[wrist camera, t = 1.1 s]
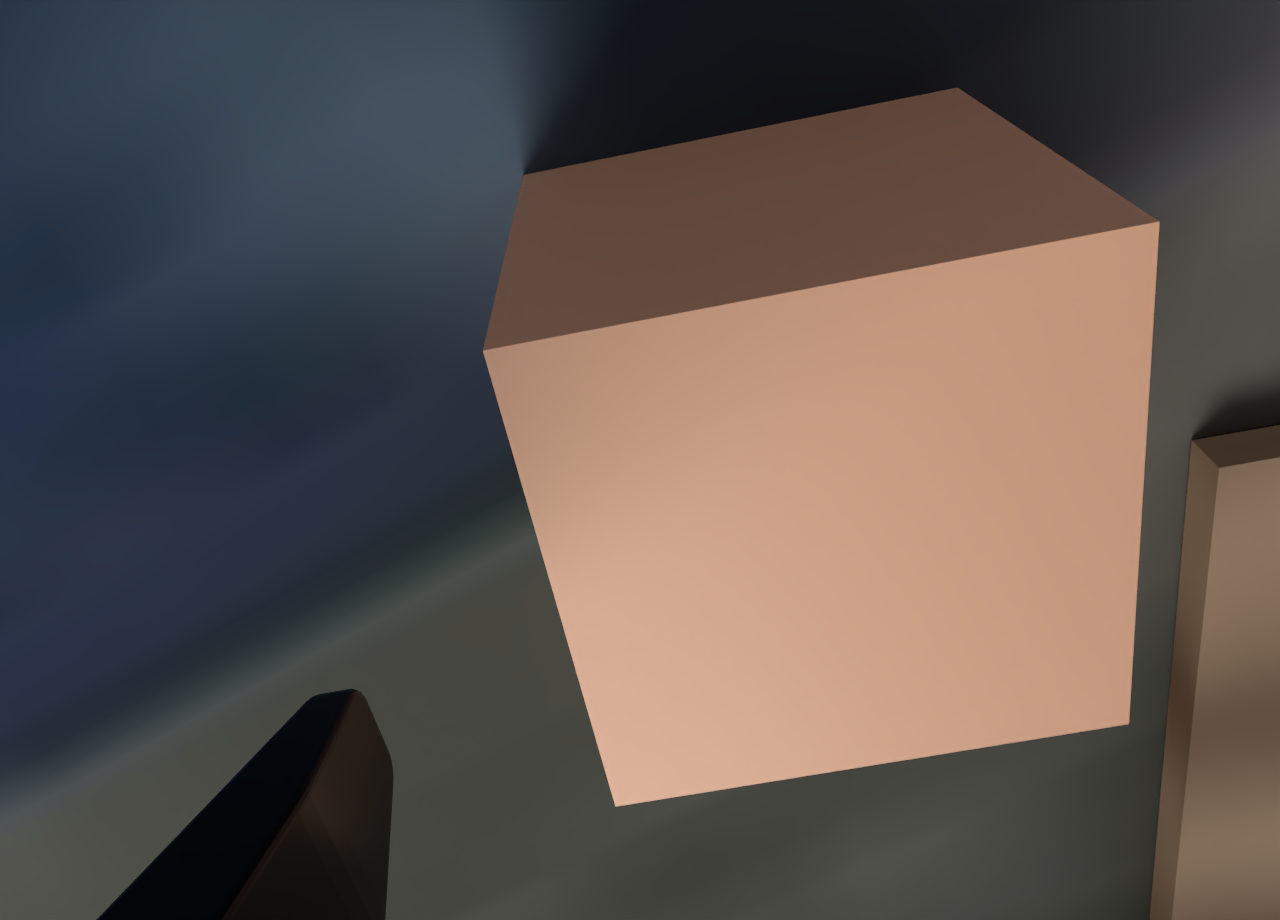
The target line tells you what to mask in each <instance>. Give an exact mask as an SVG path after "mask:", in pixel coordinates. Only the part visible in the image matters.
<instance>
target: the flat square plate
mask: <svg viewBox="0 0 1280 920" xmlns="http://www.w3.org/2000/svg"><path fill="white" fill-rule="evenodd" d="M1149 920H1280V425H1276V426H1271V427H1265V428H1259V429H1254V430H1248V431H1242V432H1237V433H1231V434H1226V435H1220V436H1214V437H1209V438H1203V439H1197V440H1192V442H1191V453H1190V464H1189V476H1188V487H1187V498H1186V510H1185V521H1184V533H1183V544H1182V555H1181V567H1180V578H1179V589H1178V601H1177V612H1176V624H1175V635H1174V646H1173V658H1172V669H1171V680H1170V692H1169V703H1168V714H1167V726H1166V737H1165V749H1164V760H1163V771H1162V783H1161V794H1160V805H1159V817H1158V828H1157V840H1156V851H1155V862H1154V874H1153V885H1152V896H1151V908H1150V919H1149Z"/></svg>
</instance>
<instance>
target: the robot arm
mask: <svg viewBox="0 0 1280 920" xmlns="http://www.w3.org/2000/svg"><path fill="white" fill-rule="evenodd" d="M392 796H393V767H392V761H391V757H390V754H389V751H388V749H387V746H386V744H385V742H384V739H383V737H382V735H381V732H380V730H379V728H378V725H377V723H376V721H375V719H374V716H373V714H372V712H371V709H370V707H369V705H368V702H367V700H366V698H365V697H364V696H363V694H362V693H361V692H360V691H357V690H355V689H347V690H341V691H335V692H330V693H324V694H319V695H316V696H313V697H312V698H310V699H309V700H308V701H307V702H306V703H305V704H304V705H303V706H302V707H301V708H300V709H299V710H298V711H297V712H296V713H295V714H294V715H293V716H292V717H291V718H290V719H289V720H288V721H287V722H286V723H285V724H284V725H283V726H282V728H281V729H280V730H279V731H278V732H277V733H276V734H275V735H274V736H273V737H272V738H271V739H270V740H269V741H268V742H267V743H266V744H265V745H264V746H263V747H262V748H261V749H260V750H259V751H258V752H257V754H256V755H255V756H254V757H253V758H252V759H251V760H250V761H249V762H248V763H247V764H246V765H245V766H244V767H243V768H242V769H241V770H240V771H239V772H238V773H237V774H236V775H235V776H234V777H233V778H232V780H231V781H230V782H229V783H228V784H227V785H226V786H225V787H224V788H223V789H222V790H221V791H220V792H219V793H218V794H217V795H216V796H215V797H214V798H213V799H212V800H211V801H210V802H209V803H208V804H207V806H206V807H205V808H204V809H203V810H202V811H201V812H200V813H199V814H198V815H197V816H196V817H195V818H194V819H193V820H192V821H191V822H190V823H189V824H188V825H187V826H186V827H185V828H184V829H183V830H182V832H181V833H180V834H179V835H178V836H177V837H176V838H175V839H174V840H173V841H172V842H171V843H170V844H169V845H168V846H167V847H166V848H165V849H164V850H163V851H162V852H161V853H160V854H159V855H158V856H157V858H156V859H155V860H154V861H153V862H152V863H151V864H150V865H149V866H148V867H147V868H146V869H145V870H144V871H143V872H142V873H141V874H140V875H139V876H138V877H137V878H136V879H135V880H134V881H133V882H132V884H131V885H130V886H129V887H128V888H127V889H126V890H125V891H124V892H123V893H122V894H121V895H120V896H119V897H118V898H117V899H116V900H115V901H114V902H113V903H112V904H111V905H110V906H109V907H108V908H107V910H106V911H105V912H104V913H103V914H102V915H101V916H100V917H99V918H98V919H97V920H385V916H386V899H387V882H388V865H389V847H390V830H391V813H392Z"/></svg>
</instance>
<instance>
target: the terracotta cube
mask: <svg viewBox="0 0 1280 920" xmlns="http://www.w3.org/2000/svg"><path fill="white" fill-rule="evenodd" d="M1159 222H1160V221H1158V220H1157V219H1155V218H1153V217H1152V216H1150V215H1149V214H1147V213H1146V212H1144V211H1143V210H1141V209H1140V208H1138V207H1137V206H1135V205H1134V204H1132V203H1131V202H1129V201H1128V200H1126V199H1125V198H1123V197H1122V196H1120V195H1119V194H1117V193H1116V192H1114V191H1113V190H1111V189H1110V188H1108V187H1107V186H1105V185H1104V184H1102V183H1101V182H1099V181H1098V180H1096V179H1095V178H1093V177H1092V176H1090V175H1089V174H1087V173H1086V172H1084V171H1083V170H1081V169H1080V168H1078V167H1077V166H1075V165H1074V164H1072V163H1070V162H1069V161H1067V160H1066V159H1064V158H1063V157H1061V156H1060V155H1058V154H1057V153H1055V152H1054V151H1052V150H1051V149H1049V148H1048V147H1046V146H1045V145H1043V144H1042V143H1040V142H1039V141H1037V140H1036V139H1034V138H1033V137H1031V136H1030V135H1028V134H1027V133H1025V132H1024V131H1022V130H1021V129H1019V128H1018V127H1016V126H1015V125H1013V124H1012V123H1010V122H1009V121H1007V120H1006V119H1004V118H1003V117H1001V116H1000V115H998V114H997V113H995V112H994V111H992V110H990V109H989V108H987V107H986V106H984V105H983V104H981V103H980V102H978V101H977V100H975V99H974V98H972V97H971V96H969V95H968V94H966V93H965V92H963V91H962V90H960V89H959V88H953V89H948V90H943V91H938V92H933V93H928V94H923V95H918V96H913V97H908V98H903V99H898V100H893V101H888V102H883V103H878V104H873V105H868V106H863V107H858V108H853V109H848V110H843V111H838V112H834V113H829V114H824V115H819V116H814V117H809V118H804V119H799V120H794V121H789V122H784V123H779V124H774V125H769V126H764V127H759V128H754V129H749V130H744V131H739V132H734V133H729V134H724V135H719V136H714V137H710V138H705V139H700V140H695V141H690V142H685V143H680V144H675V145H670V146H665V147H660V148H655V149H650V150H645V151H640V152H635V153H630V154H625V155H620V156H615V157H610V158H605V159H600V160H595V161H590V162H586V163H581V164H576V165H571V166H566V167H561V168H556V169H551V170H546V171H541V172H536V173H531V174H526V175H523V178H522V183H521V187H520V192H519V196H518V200H517V205H516V209H515V213H514V218H513V222H512V226H511V231H510V235H509V239H508V244H507V248H506V252H505V257H504V261H503V265H502V270H501V274H500V279H499V283H498V287H497V292H496V296H495V300H494V305H493V309H492V313H491V318H490V322H489V326H488V331H487V335H486V339H485V344H484V348H483V353H484V356H485V359H486V363H487V366H488V370H489V373H490V377H491V380H492V384H493V387H494V390H495V394H496V397H497V401H498V404H499V408H500V411H501V415H502V418H503V421H504V425H505V428H506V432H507V435H508V439H509V442H510V445H511V449H512V452H513V456H514V459H515V463H516V466H517V470H518V473H519V476H520V480H521V483H522V487H523V490H524V494H525V497H526V501H527V504H528V507H529V511H530V514H531V518H532V521H533V525H534V528H535V531H536V535H537V538H538V542H539V545H540V549H541V552H542V556H543V559H544V562H545V566H546V569H547V573H548V576H549V580H550V583H551V587H552V590H553V593H554V597H555V600H556V604H557V607H558V611H559V614H560V617H561V621H562V624H563V628H564V631H565V635H566V638H567V642H568V645H569V648H570V652H571V655H572V659H573V662H574V666H575V669H576V672H577V676H578V679H579V683H580V686H581V690H582V693H583V697H584V700H585V703H586V707H587V710H588V714H589V717H590V721H591V724H592V728H593V731H594V734H595V738H596V741H597V745H598V748H599V752H600V755H601V758H602V762H603V765H604V769H605V772H606V776H607V779H608V783H609V786H610V789H611V793H612V796H613V800H614V803H615V807H616V806H622V805H628V804H635V803H641V802H647V801H653V800H660V799H666V798H672V797H678V796H684V795H691V794H697V793H703V792H709V791H716V790H722V789H728V788H734V787H740V786H747V785H753V784H759V783H765V782H772V781H778V780H784V779H790V778H796V777H803V776H809V775H815V774H821V773H828V772H834V771H840V770H846V769H852V768H859V767H865V766H871V765H877V764H883V763H890V762H896V761H902V760H908V759H915V758H921V757H927V756H933V755H939V754H946V753H952V752H958V751H964V750H971V749H977V748H983V747H989V746H995V745H1002V744H1008V743H1014V742H1020V741H1027V740H1033V739H1039V738H1045V737H1051V736H1058V735H1064V734H1070V733H1076V732H1083V731H1089V730H1095V729H1101V728H1107V727H1114V726H1120V725H1126V724H1129V714H1130V698H1131V682H1132V665H1133V649H1134V632H1135V616H1136V599H1137V583H1138V567H1139V550H1140V534H1141V517H1142V501H1143V485H1144V468H1145V452H1146V435H1147V419H1148V403H1149V386H1150V370H1151V353H1152V337H1153V321H1154V304H1155V288H1156V271H1157V255H1158V239H1159Z"/></svg>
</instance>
